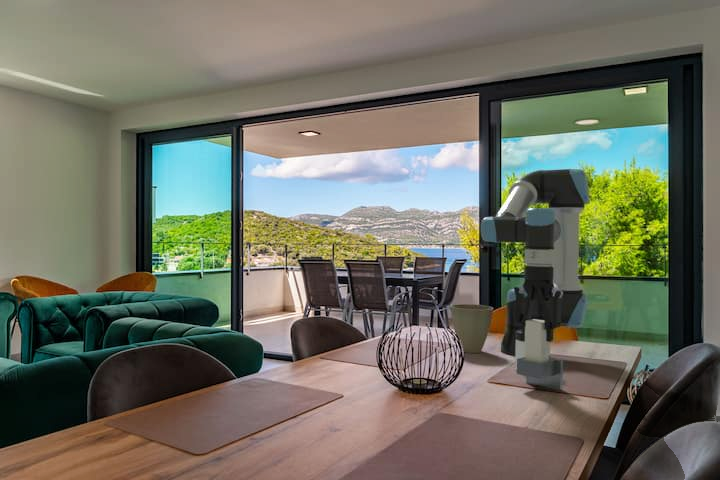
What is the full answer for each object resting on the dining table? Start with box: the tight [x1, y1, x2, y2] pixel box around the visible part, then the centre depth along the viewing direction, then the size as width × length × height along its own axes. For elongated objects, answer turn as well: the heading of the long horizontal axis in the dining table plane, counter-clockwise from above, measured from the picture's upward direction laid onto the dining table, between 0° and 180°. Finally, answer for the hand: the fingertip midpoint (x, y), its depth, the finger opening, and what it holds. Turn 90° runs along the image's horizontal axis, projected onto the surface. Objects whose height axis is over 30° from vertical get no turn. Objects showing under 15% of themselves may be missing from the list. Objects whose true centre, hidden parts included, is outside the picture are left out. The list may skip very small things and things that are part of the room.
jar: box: [514, 330, 525, 372], centre depth 169 cm, size 9×8×12 cm
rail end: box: [525, 319, 550, 363], centre depth 148 cm, size 4×4×12 cm
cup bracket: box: [516, 357, 564, 391], centre depth 148 cm, size 9×10×8 cm
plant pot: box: [450, 303, 494, 354], centre depth 196 cm, size 15×15×16 cm
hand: (537, 351), depth 148 cm, fingers closed on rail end, 4 cm apart
